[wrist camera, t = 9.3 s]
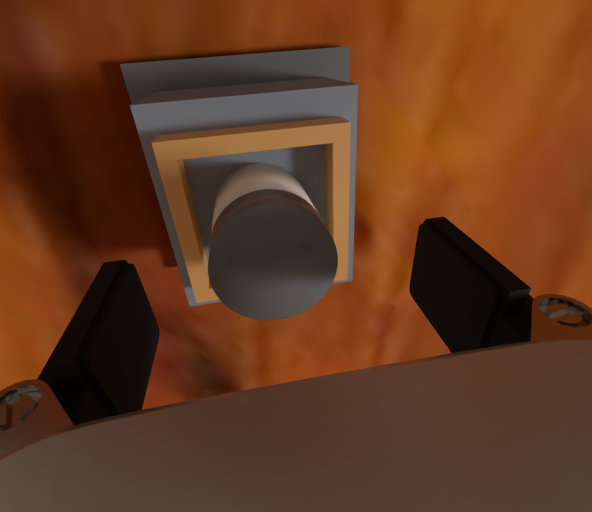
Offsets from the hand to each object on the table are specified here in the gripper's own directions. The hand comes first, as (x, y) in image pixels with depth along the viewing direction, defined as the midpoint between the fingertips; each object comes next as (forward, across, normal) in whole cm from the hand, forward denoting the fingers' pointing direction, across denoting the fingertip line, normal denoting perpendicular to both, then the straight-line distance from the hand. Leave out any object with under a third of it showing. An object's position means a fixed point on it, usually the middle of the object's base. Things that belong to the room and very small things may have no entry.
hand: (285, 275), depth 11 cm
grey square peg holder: (+14, 0, +1) cm, 14 cm away
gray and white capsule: (+7, 0, +1) cm, 7 cm away
